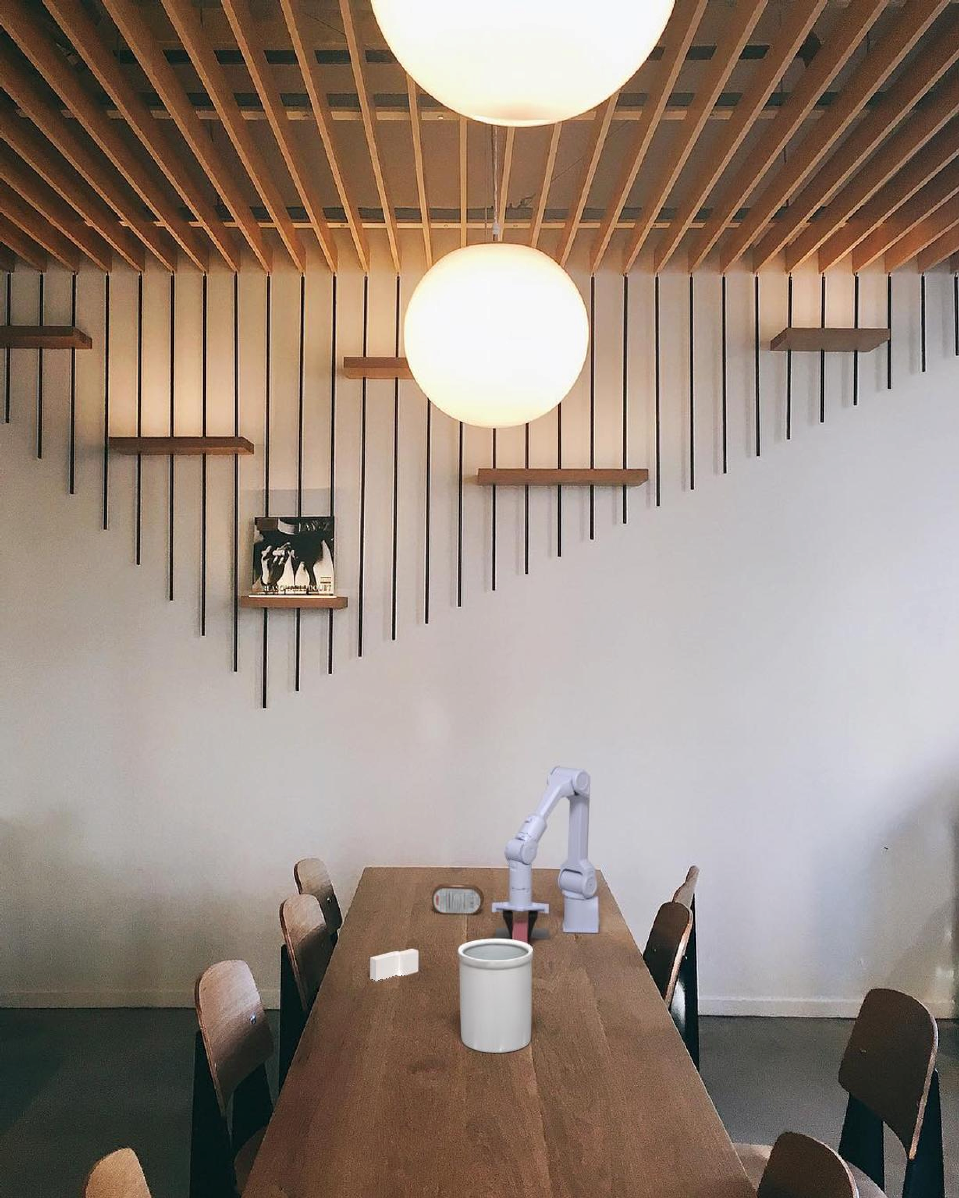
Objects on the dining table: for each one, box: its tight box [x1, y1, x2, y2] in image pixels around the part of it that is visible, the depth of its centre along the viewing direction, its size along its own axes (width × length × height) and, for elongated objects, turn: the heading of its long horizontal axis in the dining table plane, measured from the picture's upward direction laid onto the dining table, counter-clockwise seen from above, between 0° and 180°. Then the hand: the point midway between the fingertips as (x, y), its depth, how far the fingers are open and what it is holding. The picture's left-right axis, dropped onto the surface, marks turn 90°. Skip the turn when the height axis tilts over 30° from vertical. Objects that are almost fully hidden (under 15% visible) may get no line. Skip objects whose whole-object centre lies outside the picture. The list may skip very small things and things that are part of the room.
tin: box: [431, 882, 485, 916], centre depth 279 cm, size 15×3×8 cm, turn 84°
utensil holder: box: [457, 938, 534, 1054], centre depth 191 cm, size 15×15×18 cm
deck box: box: [513, 917, 529, 944], centre depth 249 cm, size 4×9×6 cm, turn 176°
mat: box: [494, 927, 549, 940], centre depth 260 cm, size 14×8×1 cm, turn 86°
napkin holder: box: [369, 948, 419, 982], centre depth 228 cm, size 15×11×6 cm
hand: (520, 940), depth 249 cm, fingers closed on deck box, 4 cm apart
